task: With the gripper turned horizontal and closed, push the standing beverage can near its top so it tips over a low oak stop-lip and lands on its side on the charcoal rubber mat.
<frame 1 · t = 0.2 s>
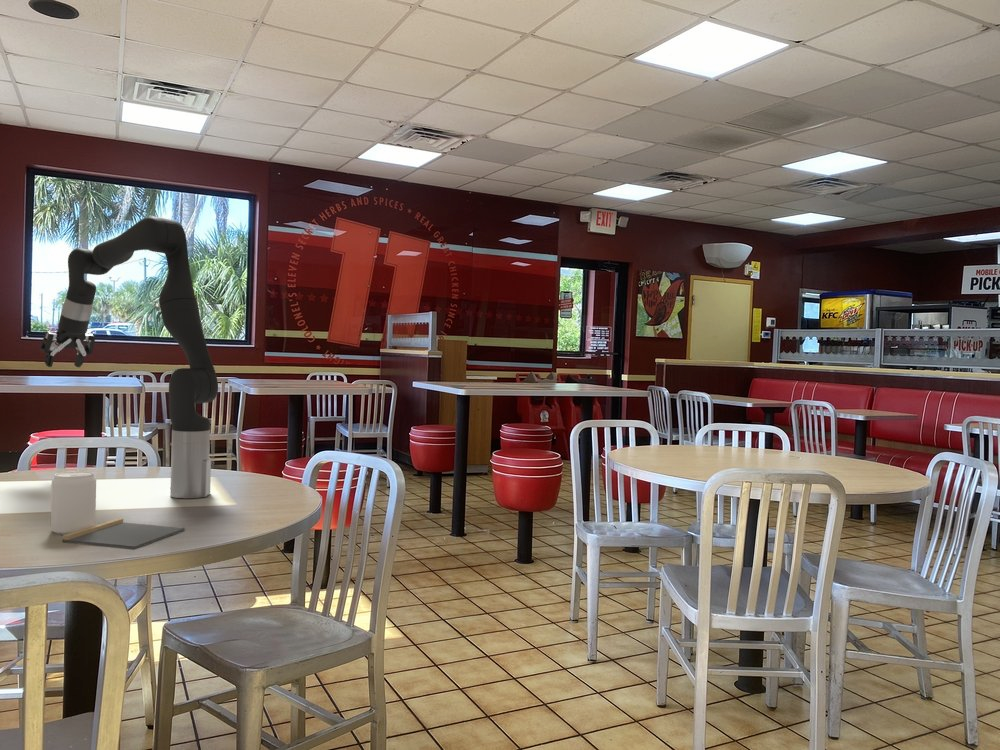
hand: (63, 366, 226), 31 cm above the table, tool tilted 20°, fingers open, 8 cm apart
beverage can: (73, 532, 159), on the table
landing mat: (126, 535, 157), on the table
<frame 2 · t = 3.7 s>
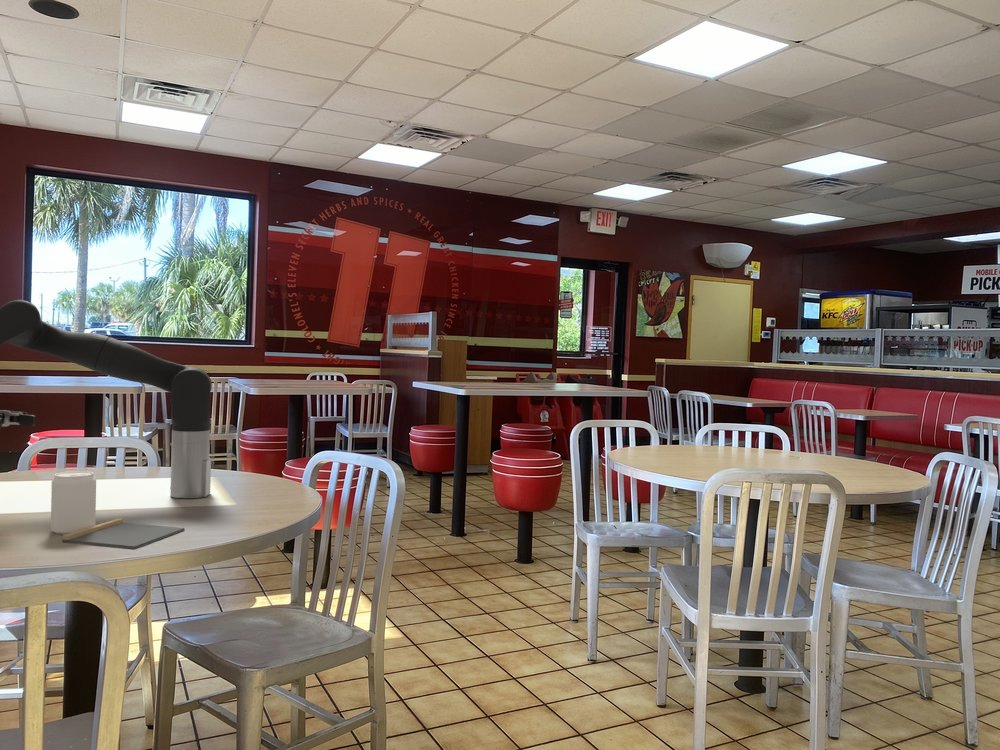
hand: (18, 422, 161), 22 cm above the table, tool horizontal, fingers open, 8 cm apart
nothing on the table moved.
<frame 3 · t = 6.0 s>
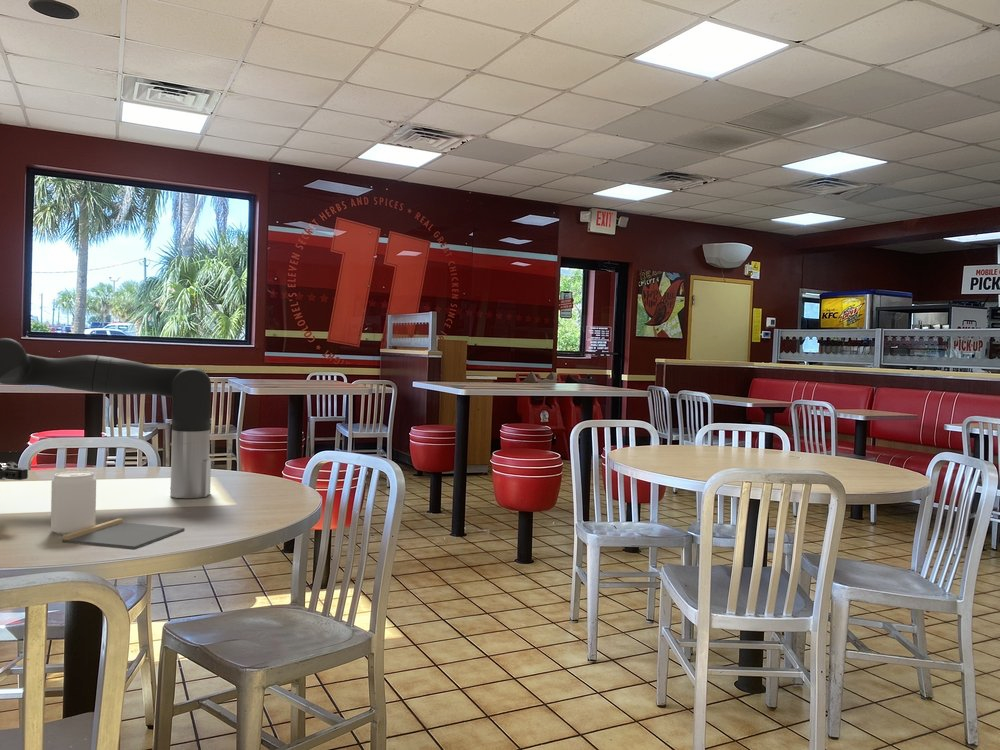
hand: (25, 474, 161), 11 cm above the table, tool horizontal, fingers closed
nothing on the table moved.
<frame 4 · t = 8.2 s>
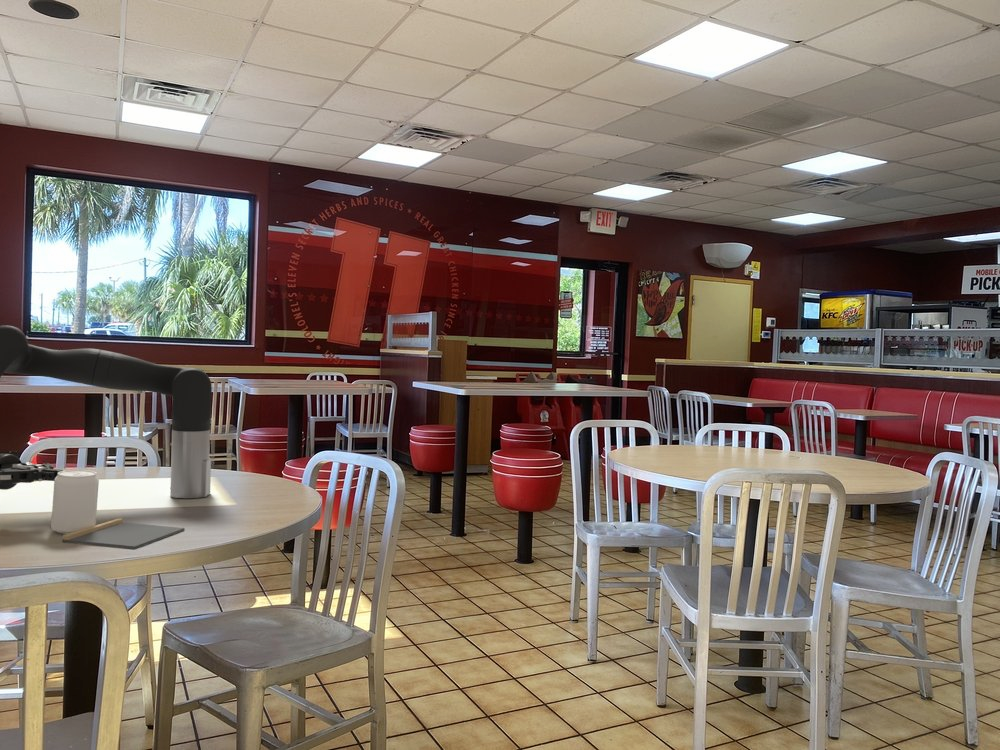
hand: (61, 475, 159), 11 cm above the table, tool horizontal, fingers closed
beverage can: (73, 530, 159), on the table, touching gripper
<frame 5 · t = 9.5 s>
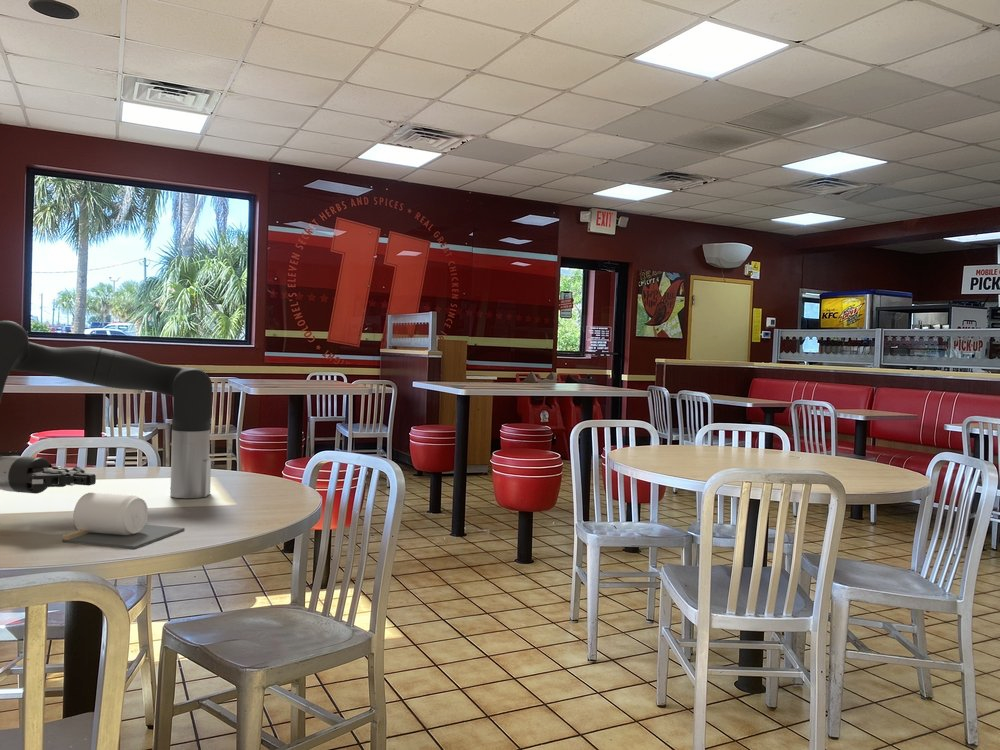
hand: (93, 479, 158), 11 cm above the table, tool horizontal, fingers closed
beverage can: (84, 512, 158), point 4 cm above the table, touching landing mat
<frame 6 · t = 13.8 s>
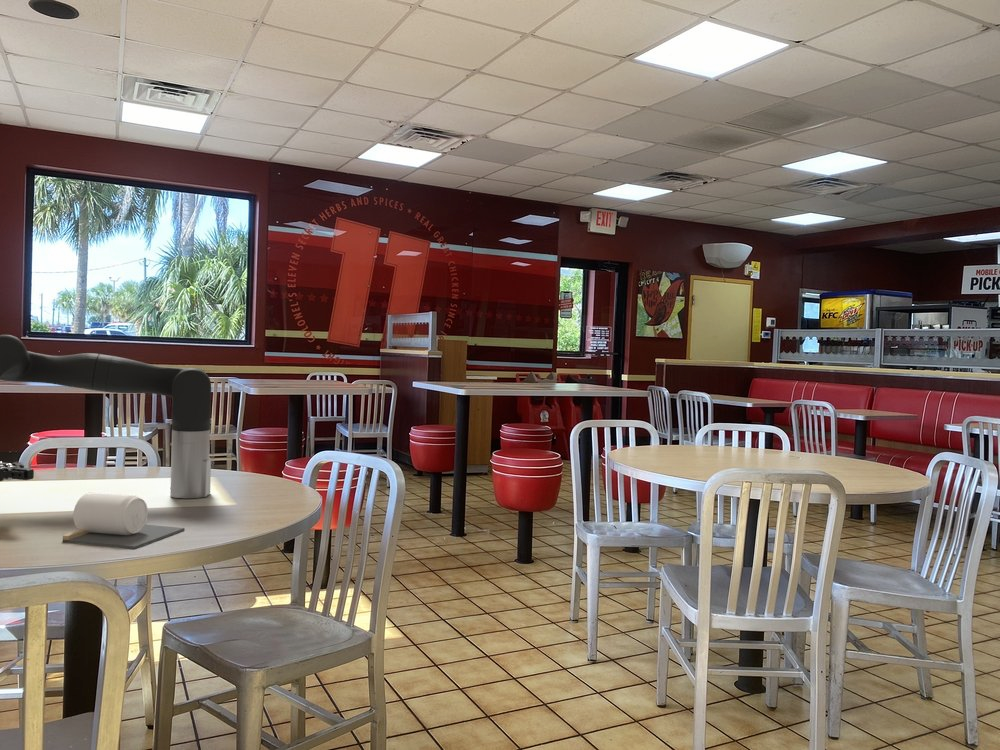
hand: (31, 474, 161), 11 cm above the table, tool horizontal, fingers closed
nothing on the table moved.
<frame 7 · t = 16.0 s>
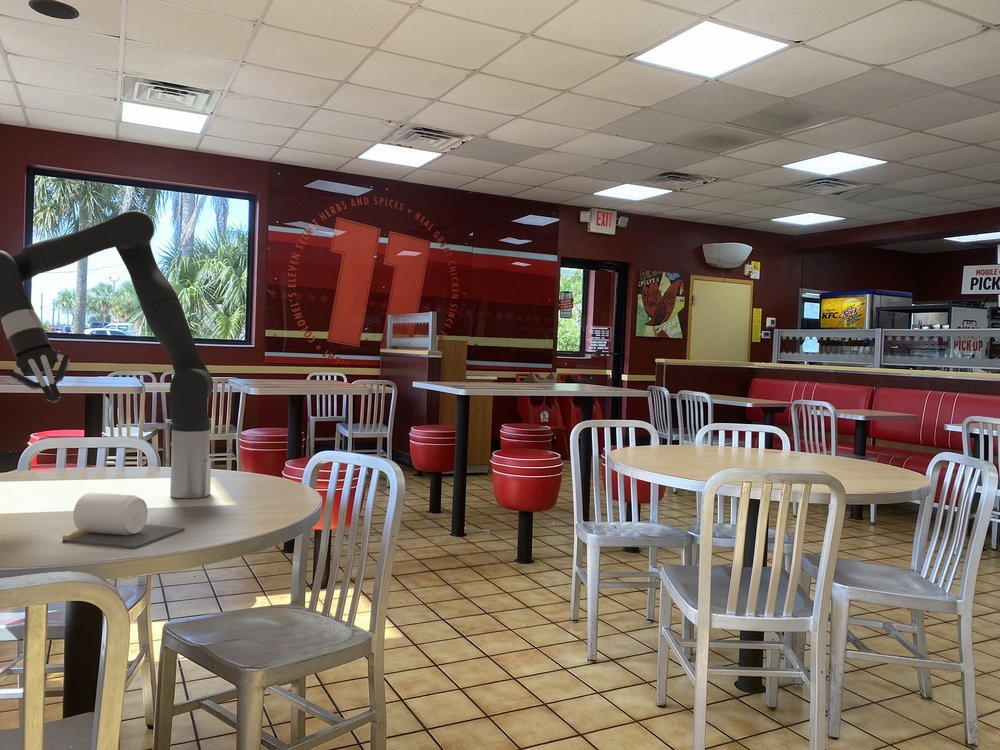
hand: (55, 401, 174), 25 cm above the table, tool tilted 30°, fingers closed
nothing on the table moved.
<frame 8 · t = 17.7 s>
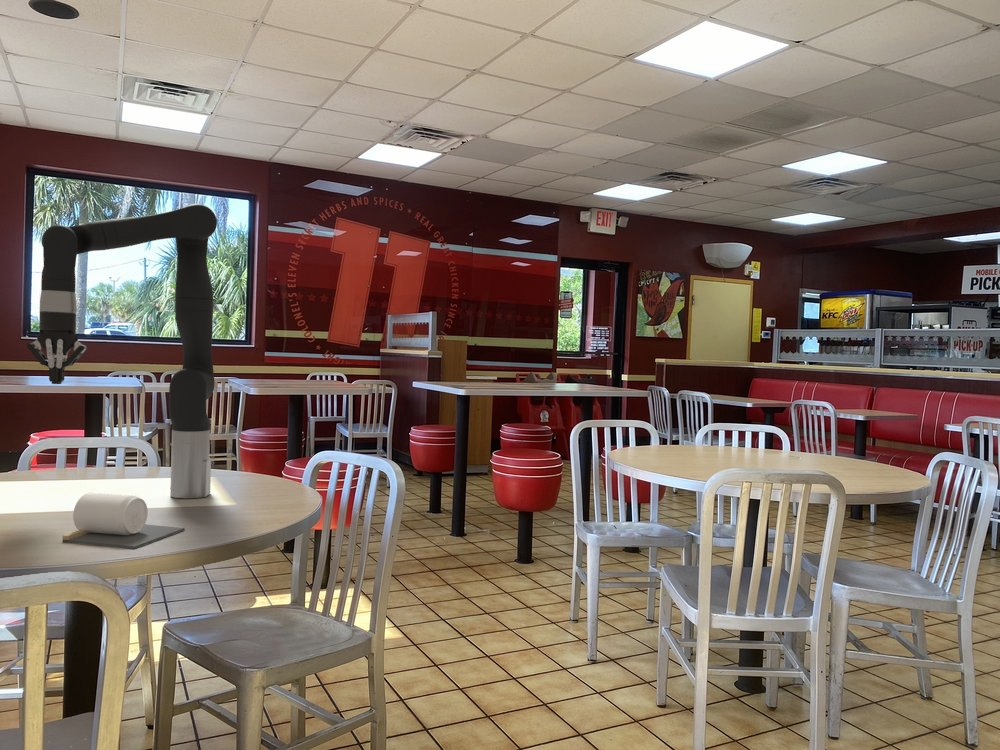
hand: (56, 383, 181), 29 cm above the table, tool pointing down, fingers closed
nothing on the table moved.
at the end: beverage can tilted 89°; beverage can touching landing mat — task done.
